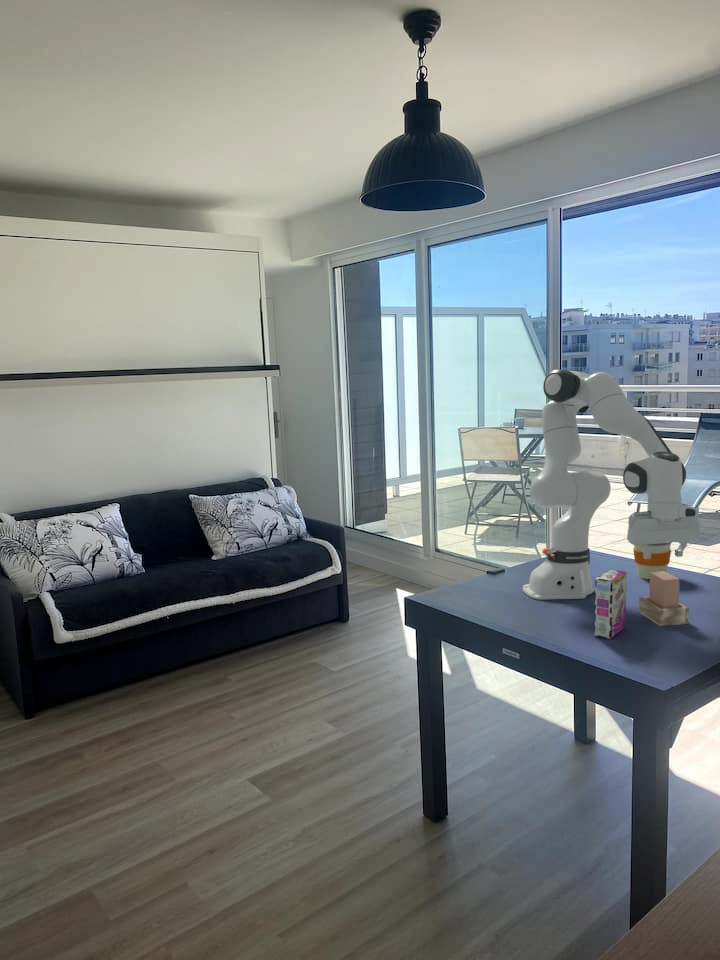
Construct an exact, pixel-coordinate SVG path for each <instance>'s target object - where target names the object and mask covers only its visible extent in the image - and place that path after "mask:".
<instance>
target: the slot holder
mask: <svg viewBox="0 0 720 960" xmlns="http://www.w3.org/2000/svg"><path fill="white" fill-rule="evenodd" d="M649 598H650V595H649V596H640V597H639V598H638V599H639V601H638V607H639V608H638V612H639V613H640V614H641V615H643V617H646V618H647V619H649V620H650V621H652V622H653V623H655V624H656V625H658V626H659V627H664V626H667V627H668V626H676V625H677V626H678V625H687V624H689V623H690V622H689V621H690V620H689V619H690V618H689V616H690V615H689V613H690V608H689V607H688V606H686V605H684V604H683V603H681V602H679V607H678V608H667V609H661V608H659V607H658V606H656V605H655V604H653V603H651V602H650V601H649Z"/></svg>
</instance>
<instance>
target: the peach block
mask: <svg viewBox="0 0 720 960" xmlns="http://www.w3.org/2000/svg"><path fill="white" fill-rule="evenodd" d="M649 596H650V598H649V601H650V602H651V603H653V604H655V605H656V606H658V607H659V608H661V609H667V608H678V607H679V603H680V578H678V576H674V575H672V574H670V573H668V571H667V572H665V571H661V572H650V580H649Z"/></svg>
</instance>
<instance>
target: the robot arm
mask: <svg viewBox="0 0 720 960" xmlns="http://www.w3.org/2000/svg"><path fill="white" fill-rule="evenodd" d="M542 388H543V393H544V395H545V397H546V398H547V399H549V400H550V401H548V402H547V403H545V404H544V405H543V408H542V411H541V412H542V413H541V414H542V415H541V422H542V423H541V424H542V425H541V426H542V434H543V441H544V449H545V461H544V464H543V467H542V470H541V471H540V472H539V474H537V475H536V477H534V479H533V480H532V481H531V483H530V486H529V487H530V488H529V496H530V498H531V500H532V502H533V503H534V504H535V505H536V506H537V507H541V508H542V507H543V508H548V509H549V508H551V509H553V508H554V509H555V508H556V509H557V508H568V510H567V512H566V513H565V514H564V515H563V516H562V517H560V518H558V519H557V520H556V521H555V522H554V523H553V526H552V547H551V549H548V548H546V547H545V548H543V549H542V551H541V552H542V554H543V555H545V556H547V558H546V560H544V561H543V562H542V563H541V564H540V565H537V566H536V568H534V569H533V570H532V571H531V572H530V577H529V583H527V584H524V585H522V592H523V593H524V594H525V595H526V596H527V597H530V598H532V599H534V600H573V599H574V600H578V599H579V600H581V599H585V598H587V596H588V595H592V593H594V592H595V589H594V586H593V583H592V580H591V571H590V563H591V552H590V548H589V535H590V534H589V532H590V525H591V521H592V519H593V516H594V515H595V513H596V511H597V510H598V508H599V507H600V506H601V505H602V504H603V503H604V502H606V501H607V499H608V498H609V497H610V494H611V489H612V488H611V487H612V486H611V482H610V480H609V478H608V476H606V475H605V474H604V473H603V472H597V471H596V472H595V471H591V470H590V471H589V470H587V471H575V472H574V471H573V472H569V471H568V465H569V464H571V463H572V462H574V461H575V460H577V459H578V458H579V457H580V455H581V452H582V444H581V440H580V435H579V433H580V432H579V428H578V423H577V414H578V413H585V412H587V411H588V410H590V413H591V415H592V417H593V420H594V422H595V423H596V424H597V426H598V427H599V428H601V429H602V430H603V431H605V432H607V433H611V434H614V435H615V434H616V435H620V436H625V437H628V438H631V439H633V440H634V441H636V442H638V444H640V446H641V447H642V448H643V450H644V451H645V453H646V454H647V456H648V457H646V458H644V459H641V460H637V461H632V462H629V463H628V464H627V465H626V466H625V468H624V470H623V473H622V480H623V485H624V486H625V488H626V489H627V490H628V491H629V492H630V493H632V494H636V495H643V494H644V495H645V494H646V495H647V510H646V511H634V512H633V513H631V514H630V515H629V517H628V527H627V535H626V536H627V537H626V539H627V542H628V543H630V544H631V545H633V546H634V545H640V548H641V550H642V551H643V558H644V559H651V553H649V552H648V551H647V550H646V548H648V544H658V543H671V544H672V543H678V544H679V546H678V548H677V549H674V556H675V557H677V558H679V557H683V556H684V551H685V549H686V547H687V546H688V542H696V541H698V540H699V539H700V538H701V521H700V519H699V517H698V516H699V514H700V511H699V508H696V507H694V506H691V505H687V504H685V503H682V500H683V499H682V496H681V495H682V494H681V491H682V487H683V485H684V484H685V481H686V480H687V470H686V467H685V465H684V463H683V462H682V461H681V458H680V456H679V455H677V454H676V453H673V452H672V451H671V449H670V448H669V447H668V445H667V444H666V443H665V441H664V440H663V438H662V437H661V435H660V434H659V433H658V431H657V429H655V427H654V426H653V424H652V423H651V422H650V420H648V419H647V417H645V415H643V414H641V413H640V412H639V411H637V409H636V408H635V407H634V406H633V405H632V404H631V402H629V400H628V399H627V397H626V395H625V392H624V391H623V390H622V388H621V386H620V385H619V383H618V382H617V381H616V380H615V378H614V377H613V376H612V374H610V373H608V372H605V371H598V372H595V373H593V374H588V373H586V372H583V371H578V370H577V371H576V370H568V369H563V368H561V369H554V370H552V371H550V372H549V373H548V374H547V375H546V376H545V378H544V381H543V387H542Z"/></svg>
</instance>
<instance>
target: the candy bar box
mask: <svg viewBox="0 0 720 960" xmlns="http://www.w3.org/2000/svg"><path fill="white" fill-rule="evenodd" d="M594 579H595V580H594V583H595V584H594V586H595V589H594V595H595V596H594V637H598V638H603V639H607V640H612V639H613V638H614V637H616V636H617V635H618V634H619V633H620V632H622V631H623V630H624V629H625V628H626V619H627V618H626V615H627V614H626V613H627V612H626V611H627V610H626V607H627V606H626V605H627V601H626V600H627V571H623V570H616V569H609V570H607V571H605V572H604V573H603V574H600V575H599V576H598V577H596V578H594Z"/></svg>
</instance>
